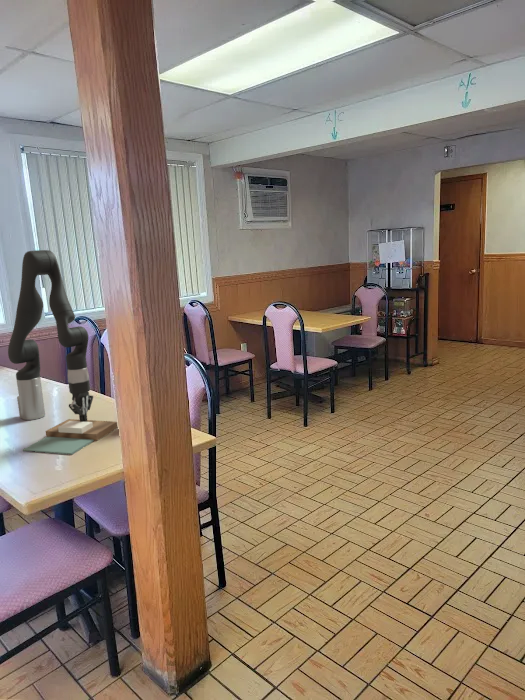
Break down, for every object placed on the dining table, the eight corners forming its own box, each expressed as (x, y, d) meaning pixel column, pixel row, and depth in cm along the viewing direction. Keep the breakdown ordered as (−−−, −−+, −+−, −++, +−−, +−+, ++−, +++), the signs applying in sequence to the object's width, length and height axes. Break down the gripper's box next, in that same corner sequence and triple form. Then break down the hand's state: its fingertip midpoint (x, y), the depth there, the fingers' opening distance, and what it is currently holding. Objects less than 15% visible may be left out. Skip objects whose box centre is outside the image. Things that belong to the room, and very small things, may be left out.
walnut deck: (46, 437, 195) (45, 431, 195) (69, 424, 208) (68, 419, 208) (96, 440, 189) (96, 434, 189) (117, 427, 202) (116, 421, 202)
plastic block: (58, 432, 193) (58, 427, 192) (70, 425, 199) (69, 420, 199) (82, 433, 190) (81, 428, 190) (92, 427, 197) (92, 422, 196)
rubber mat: (23, 451, 182) (22, 449, 182) (47, 437, 194) (47, 436, 194) (71, 454, 177) (71, 453, 176) (93, 441, 189) (93, 439, 189)
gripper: (80, 375, 203) (85, 417, 206) (59, 383, 190) (64, 428, 194) (97, 375, 201) (102, 418, 204) (76, 384, 188) (82, 429, 192)
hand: (83, 423), depth 199 cm, fingers closed
